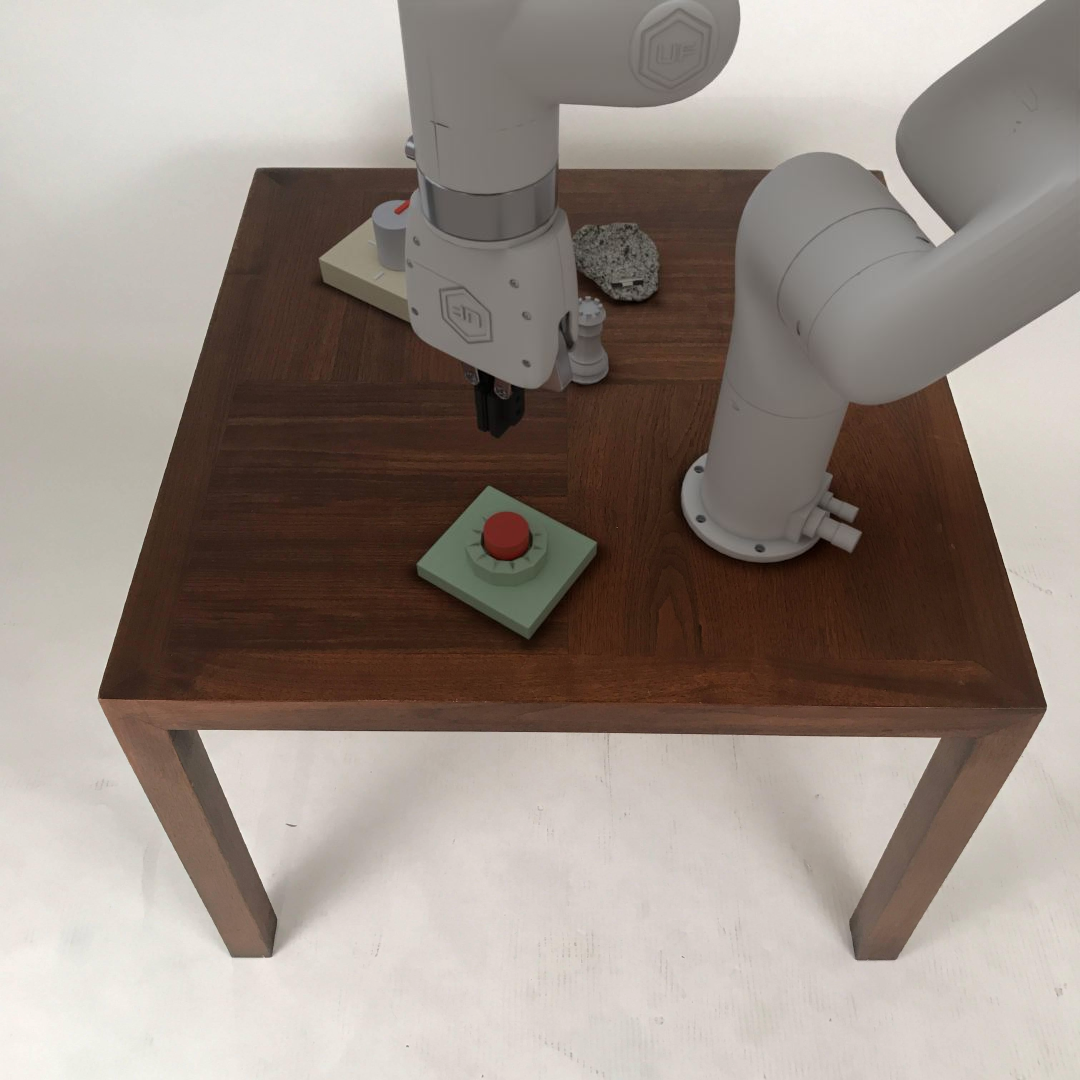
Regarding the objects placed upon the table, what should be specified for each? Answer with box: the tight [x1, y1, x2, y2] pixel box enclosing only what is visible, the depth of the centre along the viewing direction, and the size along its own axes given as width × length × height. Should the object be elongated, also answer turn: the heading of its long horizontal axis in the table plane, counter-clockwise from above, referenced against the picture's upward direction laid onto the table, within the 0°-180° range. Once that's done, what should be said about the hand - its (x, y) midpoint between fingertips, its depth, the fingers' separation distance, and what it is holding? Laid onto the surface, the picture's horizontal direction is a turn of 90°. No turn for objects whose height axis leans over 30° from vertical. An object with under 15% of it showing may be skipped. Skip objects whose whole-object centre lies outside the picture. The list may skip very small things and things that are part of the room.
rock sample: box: [572, 221, 685, 302], centre depth 101 cm, size 10×8×9 cm
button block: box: [416, 485, 598, 640], centre depth 80 cm, size 11×10×4 cm
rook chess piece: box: [568, 295, 609, 385], centre depth 92 cm, size 4×4×8 cm
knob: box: [371, 198, 410, 271], centre depth 99 cm, size 5×5×5 cm
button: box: [483, 511, 529, 560], centre depth 78 cm, size 4×4×2 cm
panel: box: [318, 216, 411, 324], centre depth 102 cm, size 14×10×3 cm
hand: (500, 421), depth 68 cm, fingers closed
